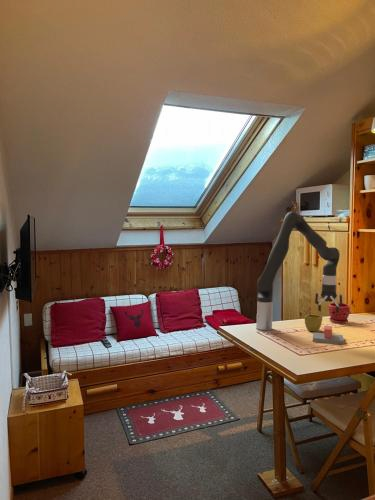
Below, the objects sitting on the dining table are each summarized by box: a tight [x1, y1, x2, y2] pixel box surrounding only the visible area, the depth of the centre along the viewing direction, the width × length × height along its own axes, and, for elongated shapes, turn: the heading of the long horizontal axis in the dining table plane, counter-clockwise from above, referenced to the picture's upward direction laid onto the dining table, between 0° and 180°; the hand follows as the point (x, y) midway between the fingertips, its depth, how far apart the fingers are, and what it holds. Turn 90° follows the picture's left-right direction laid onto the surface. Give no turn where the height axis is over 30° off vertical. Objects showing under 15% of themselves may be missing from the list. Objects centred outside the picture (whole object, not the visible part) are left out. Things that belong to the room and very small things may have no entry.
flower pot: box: [304, 313, 323, 333], centre depth 245 cm, size 9×9×9 cm
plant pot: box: [328, 302, 351, 324], centre depth 265 cm, size 13×13×12 cm
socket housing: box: [323, 325, 333, 339], centre depth 224 cm, size 4×8×5 cm, turn 162°
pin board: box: [312, 332, 345, 345], centre depth 224 cm, size 16×12×5 cm
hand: (328, 312), depth 223 cm, fingers open, 8 cm apart
